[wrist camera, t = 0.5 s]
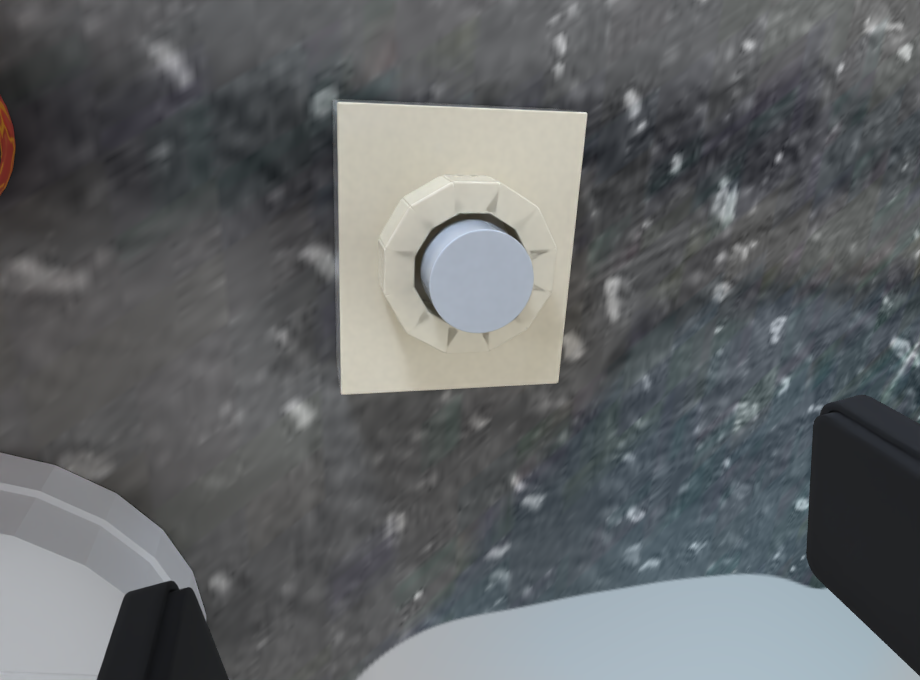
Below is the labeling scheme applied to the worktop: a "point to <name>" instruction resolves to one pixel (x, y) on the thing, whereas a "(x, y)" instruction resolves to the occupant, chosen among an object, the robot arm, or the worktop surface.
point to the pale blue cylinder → (476, 275)
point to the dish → (70, 569)
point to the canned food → (6, 146)
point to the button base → (428, 211)
